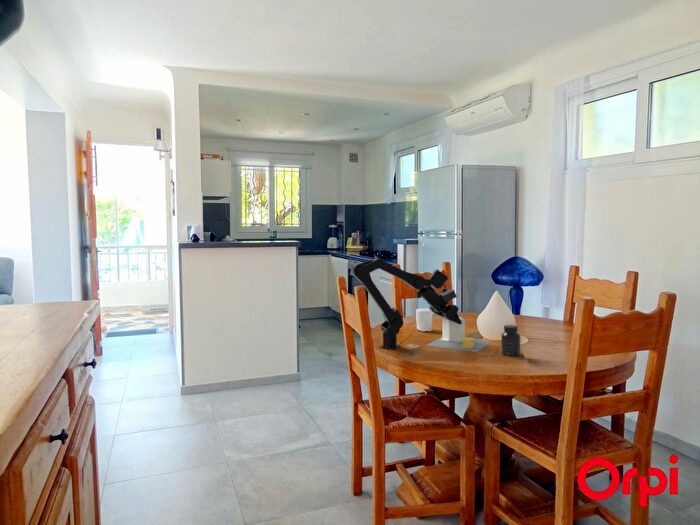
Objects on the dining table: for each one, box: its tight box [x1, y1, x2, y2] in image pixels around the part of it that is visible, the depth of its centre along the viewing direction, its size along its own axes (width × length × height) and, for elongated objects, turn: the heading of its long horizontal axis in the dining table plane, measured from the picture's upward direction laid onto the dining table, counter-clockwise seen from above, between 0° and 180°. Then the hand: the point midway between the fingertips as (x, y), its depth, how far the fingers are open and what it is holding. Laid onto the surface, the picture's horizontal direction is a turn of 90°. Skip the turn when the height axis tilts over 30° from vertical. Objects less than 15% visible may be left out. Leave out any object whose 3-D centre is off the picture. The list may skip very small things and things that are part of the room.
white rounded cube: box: [441, 316, 466, 341], centre depth 206 cm, size 7×7×9 cm
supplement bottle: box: [500, 324, 521, 358], centre depth 181 cm, size 7×7×12 cm
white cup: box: [415, 307, 434, 332], centre depth 229 cm, size 8×8×10 cm
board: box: [426, 336, 492, 353], centre depth 200 cm, size 20×21×5 cm
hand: (456, 321), depth 206 cm, fingers open, 9 cm apart
